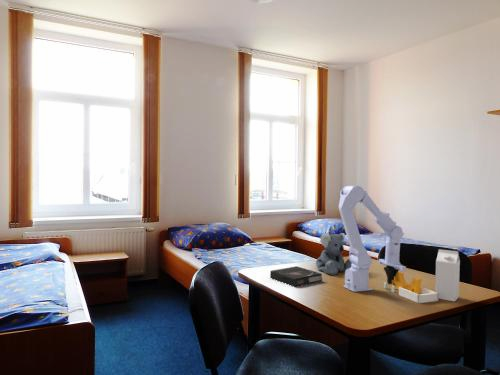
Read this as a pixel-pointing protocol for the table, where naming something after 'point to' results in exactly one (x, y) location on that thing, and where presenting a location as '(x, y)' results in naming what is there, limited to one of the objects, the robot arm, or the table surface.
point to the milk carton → (447, 275)
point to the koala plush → (332, 254)
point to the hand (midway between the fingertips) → (390, 283)
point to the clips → (394, 288)
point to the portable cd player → (296, 276)
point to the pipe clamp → (400, 282)
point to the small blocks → (385, 285)
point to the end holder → (424, 296)
